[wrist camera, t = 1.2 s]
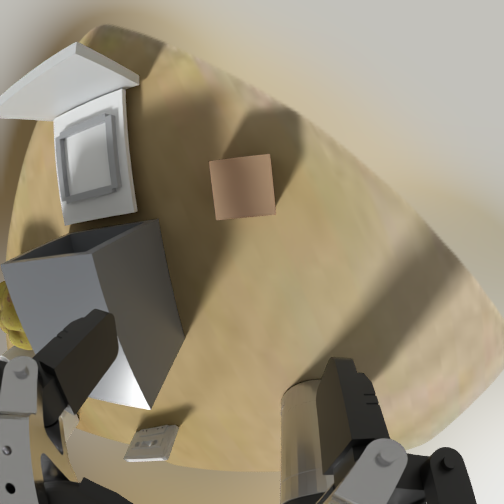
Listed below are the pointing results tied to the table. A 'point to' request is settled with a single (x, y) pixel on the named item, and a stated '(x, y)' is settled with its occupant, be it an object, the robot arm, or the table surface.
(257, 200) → the block
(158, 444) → the cassette
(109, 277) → the grey open box
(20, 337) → the fruit
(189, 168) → the table surface
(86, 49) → the grey flat-panelled piece
